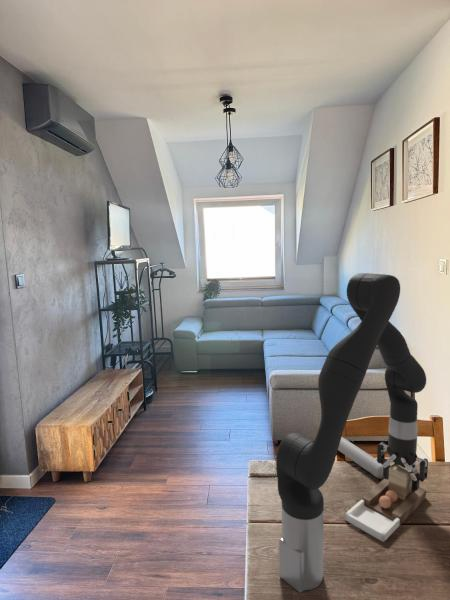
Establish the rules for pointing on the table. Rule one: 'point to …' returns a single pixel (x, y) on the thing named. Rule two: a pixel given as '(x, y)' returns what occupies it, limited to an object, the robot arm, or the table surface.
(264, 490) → the table surface
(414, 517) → the table surface
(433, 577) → the table surface
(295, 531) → the robot arm
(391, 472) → the block
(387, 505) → the ball
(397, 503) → the slot board
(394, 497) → the ball
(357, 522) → the tray
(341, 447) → the tube
